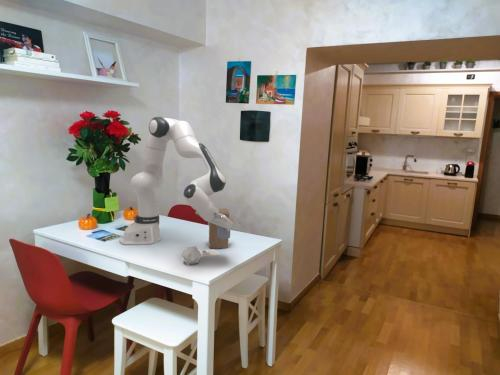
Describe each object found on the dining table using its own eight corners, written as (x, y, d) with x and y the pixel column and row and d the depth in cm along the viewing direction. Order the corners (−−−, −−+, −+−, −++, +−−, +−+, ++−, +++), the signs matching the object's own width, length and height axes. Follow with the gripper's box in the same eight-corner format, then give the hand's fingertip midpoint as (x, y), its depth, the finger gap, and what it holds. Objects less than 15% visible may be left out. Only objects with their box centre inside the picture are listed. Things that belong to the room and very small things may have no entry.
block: (228, 248, 199) (229, 212, 195) (209, 248, 197) (210, 212, 194) (226, 242, 208) (227, 208, 205) (208, 243, 207) (209, 208, 203)
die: (178, 263, 176) (180, 252, 170) (186, 250, 183) (189, 239, 176) (193, 271, 176) (196, 260, 169) (201, 257, 182) (204, 246, 175)
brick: (222, 239, 179) (223, 223, 178) (217, 237, 183) (217, 221, 181) (230, 237, 182) (230, 222, 181) (224, 235, 186) (224, 220, 184)
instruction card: (195, 257, 184) (195, 256, 184) (192, 251, 191) (192, 251, 191) (218, 254, 188) (218, 254, 188) (214, 249, 196) (214, 249, 196)
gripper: (226, 210, 168) (241, 228, 176) (201, 202, 183) (216, 218, 191) (218, 221, 165) (234, 238, 173) (193, 212, 180) (209, 228, 188)
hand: (224, 228), depth 182 cm, fingers closed on brick, 5 cm apart
